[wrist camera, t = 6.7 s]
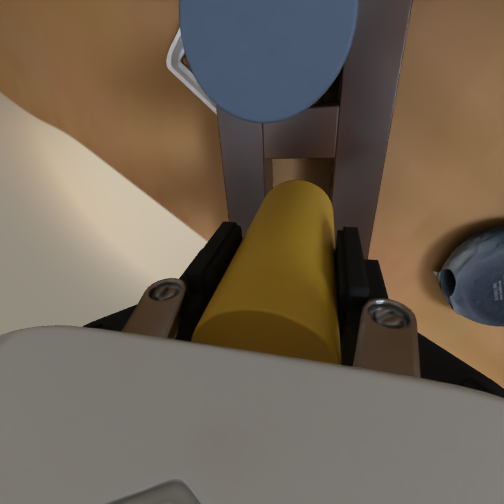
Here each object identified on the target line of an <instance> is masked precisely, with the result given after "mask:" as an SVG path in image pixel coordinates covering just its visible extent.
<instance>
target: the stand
mask: <svg viewBox="0 0 504 504" xmlns="http://www.w3.org/2000/svg"><path fill="white" fill-rule="evenodd" d="M412 1H413V0H359V7H358V18H357V24H356V30H355V34H354V38H353V42H352V45H351V48H350V51H349V53H348V56H347V59H346V61H345V63H344V65H343V67H342V69H341V71H340V79H339V91H338V104H337V103H320V104H313V105H311V106H310V107H309V108H308V109H306V110H305V111H303V112H301V113H299V114H298V115H296V116H294V117H291V118H289V119H286V120H283V121H279V122H274V123H253V122H248V121H244V120H241V119H238V118H236V117H234V116H232V115H230V114H228V113H227V112H225V111H224V110H222V109H221V108H219V107H218V106H217V105H216V110H217V119H218V128H219V137H220V146H221V155H222V164H223V173H224V182H225V191H226V199H227V208H228V217H229V222H236V223H237V225H239V226H241V229H242V239H243V238H244V236H245V234H246V232H247V230H248V229H249V227H250V225H251V223H252V221H253V219H254V217H255V215H256V214H257V212H258V210H259V208H260V206H261V204H262V202H263V200H264V199H265V197H266V195H267V194H268V193H269V192H270V190H272V189H273V184H272V159H283V158H333V164H332V176H331V188H330V201H331V203H332V207H333V216H334V236H335V248H336V238H337V230H343V227H358V231H359V236H360V241H361V247H362V252H363V257H364V259H368V253H369V248H370V242H371V236H372V230H373V225H374V219H375V213H376V208H377V202H378V196H379V190H380V185H381V179H382V173H383V167H384V162H385V156H386V150H387V144H388V139H389V133H390V127H391V122H392V116H393V110H394V104H395V99H396V93H397V87H398V81H399V76H400V70H401V64H402V58H403V53H404V47H405V41H406V36H407V30H408V24H409V18H410V13H411V7H412Z"/></svg>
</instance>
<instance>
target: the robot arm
mask: <svg viewBox="0 0 504 504" xmlns="http://www.w3.org/2000/svg"><path fill="white" fill-rule="evenodd" d="M242 240H243V239H242V229H241V226H239V225H237V223H236V222H223V223H222V224H221V225H220V227H219V228H218V229H217V231H216V232H215V233H214V235H213V236H212V237H211V239H210V240H209V241H208V243H207V244H206V245H205V247H204V248H203V249H202V250H201V251H200V252H199V253H198V255H197V256H196V257H195V259H194V260H193V261H192V262H191V264H190V265H189V266H188V268H187V269H186V270H185V272H184V273H183V274H182V276H181V277H180V278H179V279H176V278H168V279H163V280H160V281H157V282H155V283H153V284H152V285H151V286H149V287H148V288H147V290H146V291H145V292H144V294H143V296H142V298H141V299H140V301H139V303H138V304H137V305H135V306H132V307H129V308H127V309H124V310H122V311H119V312H116V313H114V314H111V315H109V316H106V317H104V318H101V319H98V320H96V321H93V322H91V323H89V324H87V325H84V326H83V327H78V326H59V325H58V326H56V325H55V326H40V327H32V328H26V329H20V330H16V331H12V332H9V333H6V334H2V335H0V504H504V389H503V388H502V387H501V386H499V385H498V384H497V383H495V382H494V381H492V380H491V379H489V378H488V377H486V376H485V375H483V374H482V373H480V372H478V371H477V370H475V369H474V368H472V367H471V366H469V365H468V364H466V363H464V362H463V361H461V360H460V359H458V358H457V357H455V356H454V355H452V354H451V353H449V352H447V351H446V350H444V349H443V348H441V347H440V346H438V345H437V344H435V343H433V342H432V341H430V340H429V339H427V338H426V337H424V336H423V335H421V334H419V333H418V332H417V320H416V317H415V315H414V313H413V312H412V311H411V310H410V309H409V308H408V307H406V306H405V305H403V304H401V303H399V302H397V301H394V300H391V299H388V295H387V291H386V288H385V284H384V280H383V276H382V273H381V269H380V265H379V262H378V260H369V259H364V257H363V252H362V247H361V241H360V236H359V231H358V227H343V230H337V238H336V248H335V261H336V284H337V308H338V318H339V333H340V352H341V365H338V364H332V363H326V362H319V361H313V360H306V359H300V358H294V357H287V356H281V355H274V354H268V353H261V352H255V351H248V350H242V349H235V348H228V347H222V346H215V345H209V344H202V343H195V342H191V339H192V335H193V333H194V330H195V328H196V326H197V324H198V323H199V321H200V319H201V317H202V315H203V313H204V311H205V309H206V308H207V306H208V304H209V302H210V300H211V298H212V296H213V294H214V293H215V291H216V289H217V287H218V285H219V283H220V281H221V279H222V277H223V276H224V274H225V272H226V270H227V268H228V266H229V264H230V262H231V261H232V259H233V257H234V255H235V253H236V251H237V249H238V247H239V246H240V244H241V242H242Z"/></svg>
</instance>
